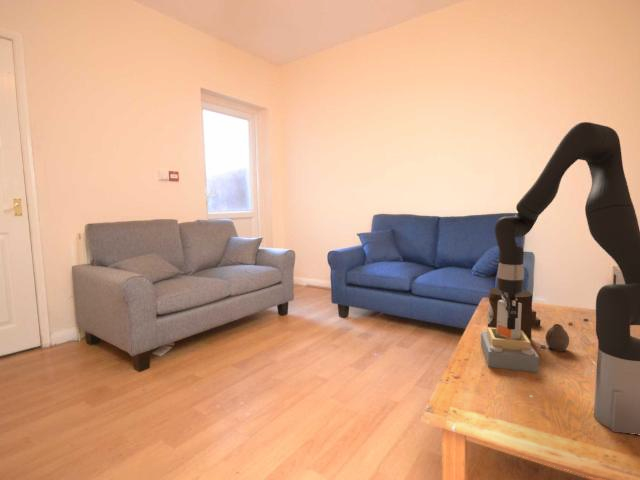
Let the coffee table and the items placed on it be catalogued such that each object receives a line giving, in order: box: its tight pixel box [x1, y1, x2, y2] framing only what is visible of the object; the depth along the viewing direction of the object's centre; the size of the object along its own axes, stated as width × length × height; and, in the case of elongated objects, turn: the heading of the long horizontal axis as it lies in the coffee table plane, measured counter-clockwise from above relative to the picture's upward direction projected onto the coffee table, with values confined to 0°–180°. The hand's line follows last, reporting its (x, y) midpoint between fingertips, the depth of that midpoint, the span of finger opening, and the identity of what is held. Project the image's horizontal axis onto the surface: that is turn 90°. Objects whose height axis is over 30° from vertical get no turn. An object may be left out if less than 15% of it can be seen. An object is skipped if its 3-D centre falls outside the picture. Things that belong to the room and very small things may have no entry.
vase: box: [545, 323, 570, 352], centre depth 121 cm, size 7×7×9 cm
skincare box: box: [496, 300, 522, 340], centre depth 115 cm, size 6×4×12 cm
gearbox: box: [480, 326, 540, 373], centre depth 116 cm, size 18×14×8 cm
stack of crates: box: [532, 309, 542, 327], centre depth 147 cm, size 15×15×7 cm
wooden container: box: [487, 287, 533, 343], centre depth 132 cm, size 15×15×22 cm
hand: (508, 324), depth 115 cm, fingers closed on skincare box, 7 cm apart
